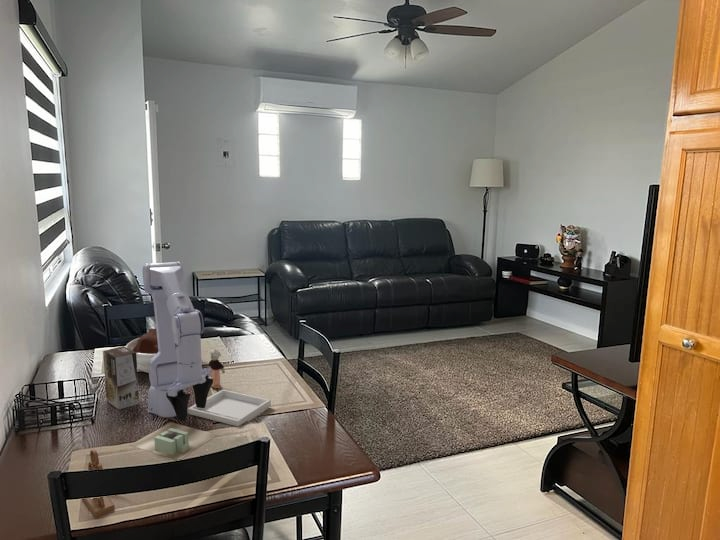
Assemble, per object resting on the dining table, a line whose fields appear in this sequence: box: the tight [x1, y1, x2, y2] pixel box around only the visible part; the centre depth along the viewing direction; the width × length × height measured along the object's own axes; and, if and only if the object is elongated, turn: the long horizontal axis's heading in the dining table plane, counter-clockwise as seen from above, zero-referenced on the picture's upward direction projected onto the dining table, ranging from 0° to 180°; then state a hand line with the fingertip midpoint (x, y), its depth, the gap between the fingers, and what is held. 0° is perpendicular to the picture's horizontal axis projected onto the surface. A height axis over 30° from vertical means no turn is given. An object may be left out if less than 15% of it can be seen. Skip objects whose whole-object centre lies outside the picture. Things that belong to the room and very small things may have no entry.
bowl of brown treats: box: [125, 327, 177, 374], centre depth 185 cm, size 25×25×15 cm
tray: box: [187, 388, 272, 427], centre depth 152 cm, size 18×16×2 cm
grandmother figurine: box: [207, 349, 226, 389], centre depth 169 cm, size 8×4×13 cm, turn 68°
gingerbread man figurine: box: [82, 448, 116, 518], centre depth 108 cm, size 9×4×12 cm, turn 43°
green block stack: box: [154, 428, 189, 455], centre depth 129 cm, size 7×6×3 cm
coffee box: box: [102, 345, 140, 410], centre depth 156 cm, size 9×6×16 cm
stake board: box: [129, 421, 218, 461], centre depth 133 cm, size 16×14×5 cm
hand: (191, 413), depth 129 cm, fingers open, 7 cm apart
